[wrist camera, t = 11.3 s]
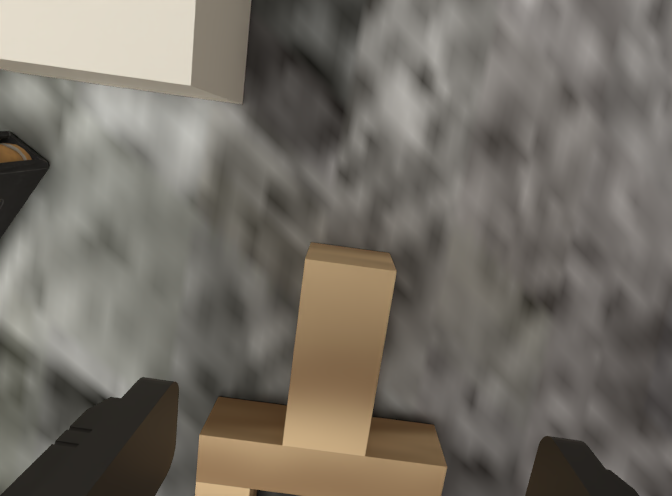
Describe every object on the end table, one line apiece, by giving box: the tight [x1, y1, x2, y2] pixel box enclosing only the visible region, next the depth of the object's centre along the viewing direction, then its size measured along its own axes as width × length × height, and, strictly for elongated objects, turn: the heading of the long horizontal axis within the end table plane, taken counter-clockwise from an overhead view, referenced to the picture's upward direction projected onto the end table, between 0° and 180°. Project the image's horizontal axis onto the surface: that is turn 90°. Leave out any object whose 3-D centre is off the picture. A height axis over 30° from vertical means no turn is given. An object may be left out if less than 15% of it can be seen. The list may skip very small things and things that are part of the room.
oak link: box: [195, 242, 447, 496], centre depth 18 cm, size 16×9×2 cm, turn 173°
